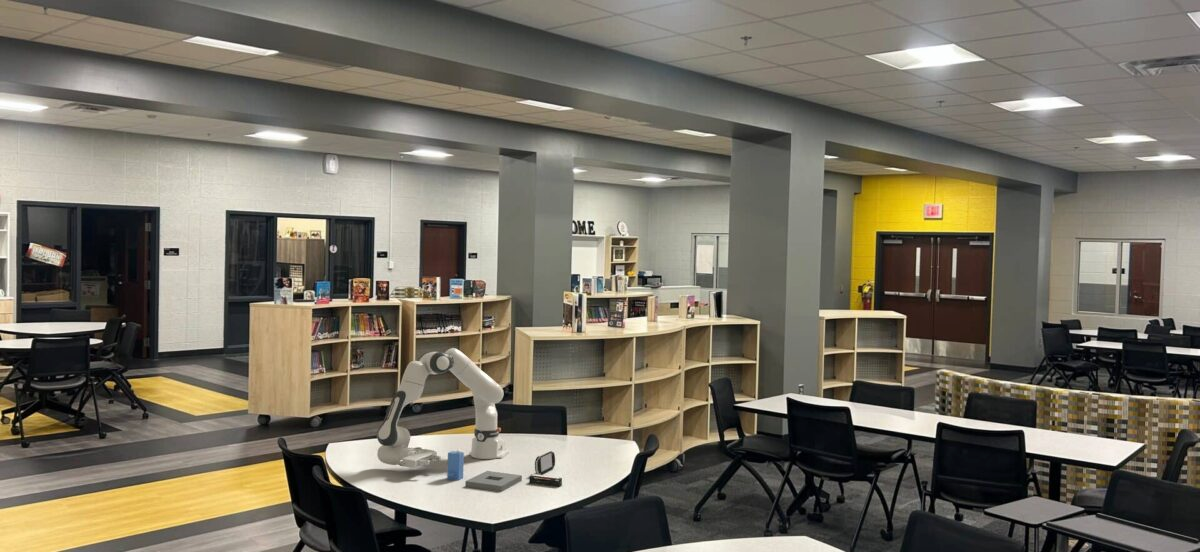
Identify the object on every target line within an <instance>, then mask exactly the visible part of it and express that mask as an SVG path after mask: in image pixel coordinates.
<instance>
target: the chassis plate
mask: <svg viewBox="0 0 1200 552" xmlns="http://www.w3.org/2000/svg"><path fill="white" fill-rule="evenodd" d="M522 479H523V475H521V474H516V473H505V472H499V471H491V470H490V471H489V470H486V471H484V472H482V473H479V474H477V475H476V476H473V477H471V478H469V479H467V480H465V488H472V489H480V490H486V491H487V490H488V491H494V492H501V493H502V492H504V491H505V490H508V489H510V488H511V487H513V486H515V485H517V484H518V483H521V482H522Z"/></svg>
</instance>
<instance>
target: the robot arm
mask: <svg viewBox="0 0 1200 552" xmlns="http://www.w3.org/2000/svg"><path fill="white" fill-rule="evenodd" d="M448 371H449V372H451V373H452V374H453V375H454V376H455V377H456V379H458V380H459V381H460V382H461V383H462V384H463V385H464V386H466V387H467V388H468V389H469V390H471V393H472V396H473V403H474V404H473V405H474V410H475V428H474V431H473V433H474V434H473V435H474V437H473V438H472V440H471V450H470V451H468V452H469V453H468V454H469V455H470V456H471V458H474V459H478V460H480V459H481V460H493V459H494V460H495V459H502V458H504V457H505V456H506V455H507V454H509V453H510V450H509V449H506V447H505V446H506V443H505V440H504V439H503V438H502V437H501V436H500V433H501V431H502V429H501V427H498V410H497V407H496V405H495V404H499V403H500V402H501V401H502V400H503V398H504V396H505V395H504V392H505V391H504V389H503V387H501V385H500V384H498V383H497V382H496V380H494V379H493V378H492V377H491V376H489V375H488V374H487V373H486V372H484V371H483V370H482V369H480V367H479V366H478V365H477V364H476V363H474V361H472V360H471V359H470V358H469V357H468V356H467V355H466V354H464V352H462V351H461V350H459V349H457V348H455V347H451V348H449V349H447V350H446V351H445V352H444V351H431V352H430V351H429V352H425V353H424V354H422V355H421V356H420V357H419V358H418V359H417V360H413V361H410V362H409V363H408V364H407V366H406V368H405V369H404V373H403V375H402V379H401V381H400V385H399V388H398V390H397V391H396V393H395V394H393V396H392V397H393V398H392V399H391V402H390V404H389V407H388V409H387V412H386V414H385V417H384V420H383V421H382V423H381V424H380V426H379V428H377V429H378V430H377V432H376V440H377V441H378V443H379V444H380V445H381V446H379V447H378V449H377V458H378V460H379V461H380V462H381V463H383V464H384V465H385V464H386V465H391V466H399V467H403V468H405V467H406V468H411V469H412V468H417V467H420V466H429V465H430V464H431V462H432V461H434V460H435V461H441V459H442V457H441V456H440V455H437V453H438V452H437V451H435V450H433V449H426V448H422V447H418V446H417V447H409V444H410V442H411V433H410V432H411V431H409V430H408V429H407V428H406V427H402V426H398V422H399V419H400V417H401V414H402V411H403V409H404V408H405V407H406V406H407V405H409V404H411V403H414V402H416V401H418V400H419V399H420V398H421V396H422V394H423V391H424V388H425V384H426V380H427V378H428V376H429V375H442V374H444V373H447V372H448Z"/></svg>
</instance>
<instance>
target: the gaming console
mask: <svg viewBox="0 0 1200 552" xmlns="http://www.w3.org/2000/svg"><path fill="white" fill-rule="evenodd" d="M555 466H556V455H555V452H554V451H552V450H550V451H546V452H545V453H544V452H543V453H542V454H540V455H538V456H536V458H535V460H534V471H535V474H536V475H545V474H546V473H549V472H551V471H552V470H554V468H555Z"/></svg>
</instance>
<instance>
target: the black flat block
mask: <svg viewBox="0 0 1200 552" xmlns="http://www.w3.org/2000/svg"><path fill="white" fill-rule="evenodd" d="M528 484H531V485H532V484H533V485H540V486H545V487H547V486H548V487H557V488H560V487H562V486H563V478H562V477H559V476H550V475H545V474H542V475H538V474H537V473H535V474H532V473H531V474H530V475H529V481H528Z"/></svg>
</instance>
